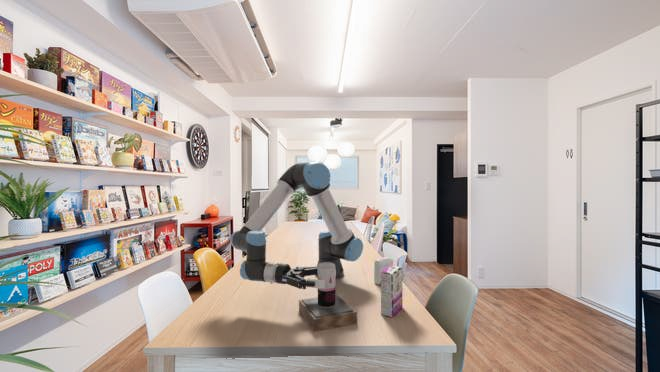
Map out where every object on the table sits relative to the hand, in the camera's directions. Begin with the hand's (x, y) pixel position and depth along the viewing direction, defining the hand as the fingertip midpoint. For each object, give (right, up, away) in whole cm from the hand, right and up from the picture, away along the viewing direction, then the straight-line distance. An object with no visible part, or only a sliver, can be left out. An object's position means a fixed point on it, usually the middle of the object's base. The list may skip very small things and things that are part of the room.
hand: (330, 278), depth 115 cm
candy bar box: (+24, -14, +6) cm, 28 cm away
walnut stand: (-1, -14, +1) cm, 14 cm away
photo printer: (+26, -14, +39) cm, 49 cm away
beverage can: (-1, -10, +1) cm, 10 cm away
